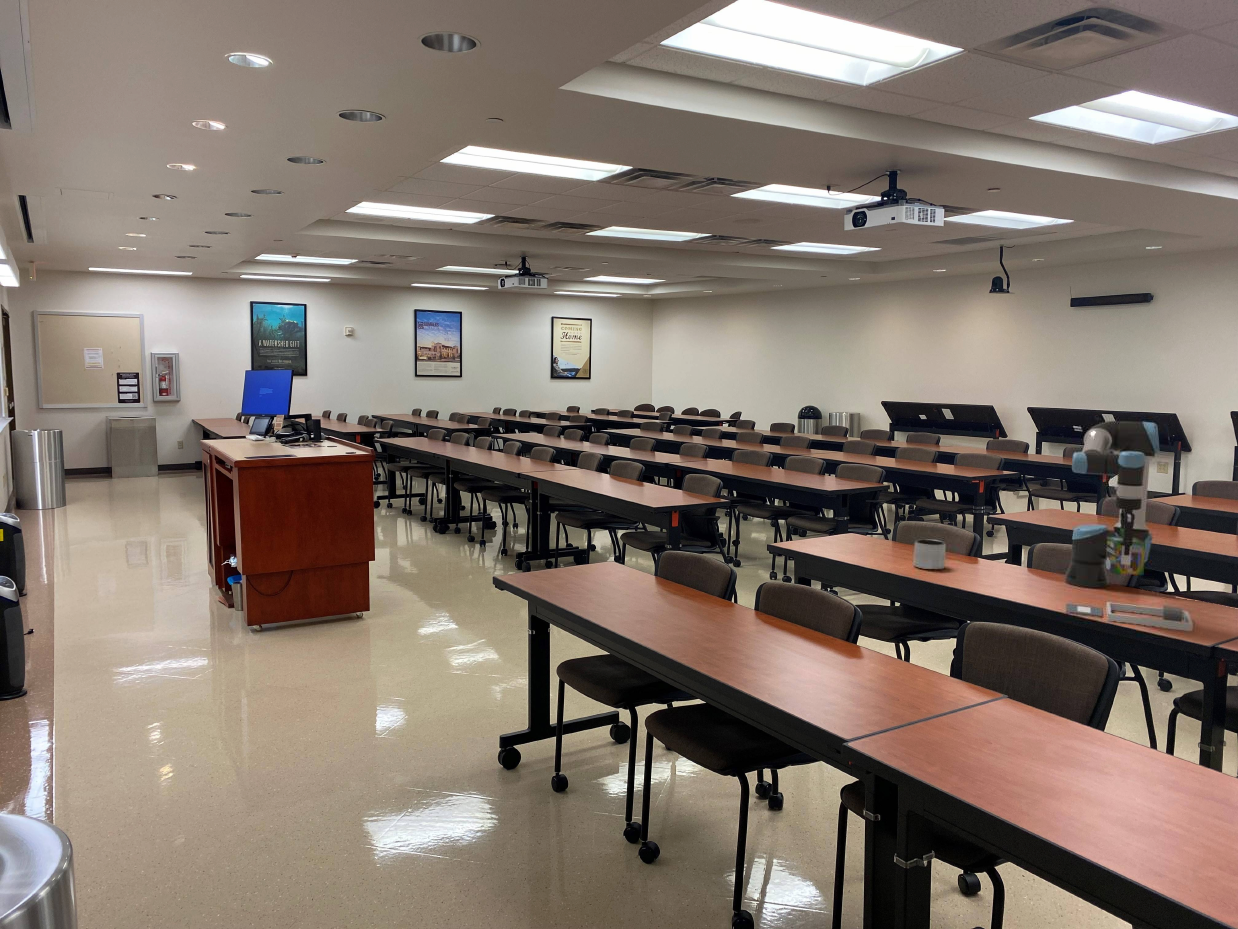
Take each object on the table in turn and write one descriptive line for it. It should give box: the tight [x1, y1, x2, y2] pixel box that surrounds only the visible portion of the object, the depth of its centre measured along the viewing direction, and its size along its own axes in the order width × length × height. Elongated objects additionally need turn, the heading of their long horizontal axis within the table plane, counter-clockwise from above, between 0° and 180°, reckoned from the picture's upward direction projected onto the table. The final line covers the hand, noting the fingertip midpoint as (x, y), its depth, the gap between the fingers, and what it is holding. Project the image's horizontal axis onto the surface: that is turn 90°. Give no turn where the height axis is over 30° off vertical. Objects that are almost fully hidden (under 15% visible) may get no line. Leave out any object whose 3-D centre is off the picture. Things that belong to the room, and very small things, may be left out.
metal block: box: [1161, 605, 1183, 622], centre depth 284 cm, size 5×5×5 cm
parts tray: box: [1105, 601, 1194, 632], centre depth 287 cm, size 16×24×2 cm, turn 61°
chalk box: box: [1105, 528, 1145, 576], centre depth 289 cm, size 9×9×15 cm
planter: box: [913, 538, 946, 570], centre depth 360 cm, size 13×12×11 cm
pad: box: [1065, 603, 1103, 618], centre depth 297 cm, size 11×11×1 cm
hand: (1124, 560), depth 289 cm, fingers closed on chalk box, 10 cm apart
